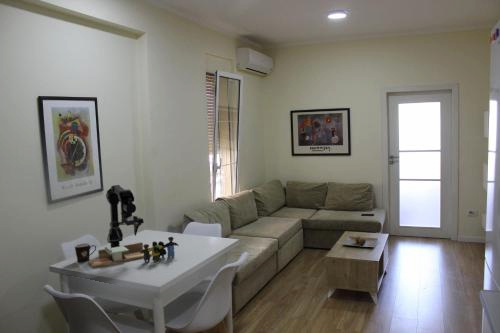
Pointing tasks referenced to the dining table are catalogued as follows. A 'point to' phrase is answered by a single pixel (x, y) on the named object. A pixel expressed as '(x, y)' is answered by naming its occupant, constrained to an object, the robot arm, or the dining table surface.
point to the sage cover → (116, 249)
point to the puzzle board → (129, 255)
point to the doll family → (159, 250)
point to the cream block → (117, 256)
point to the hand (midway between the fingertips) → (127, 236)
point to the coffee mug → (83, 252)
